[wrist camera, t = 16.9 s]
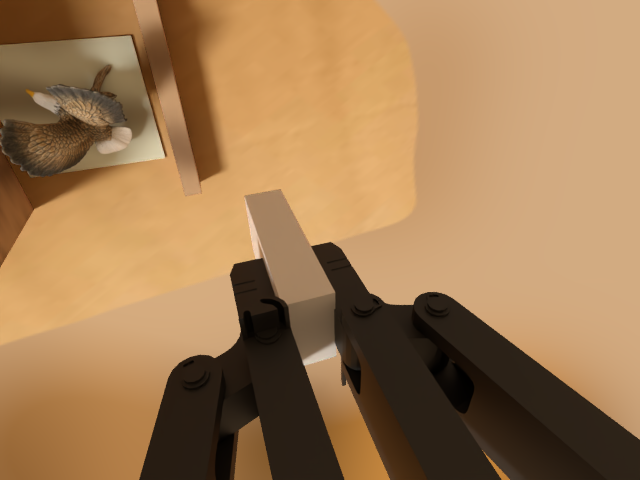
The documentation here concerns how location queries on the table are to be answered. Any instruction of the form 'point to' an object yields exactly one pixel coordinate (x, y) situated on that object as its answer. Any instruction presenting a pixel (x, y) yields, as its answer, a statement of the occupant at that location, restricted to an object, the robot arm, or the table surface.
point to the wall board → (123, 80)
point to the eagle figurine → (66, 129)
